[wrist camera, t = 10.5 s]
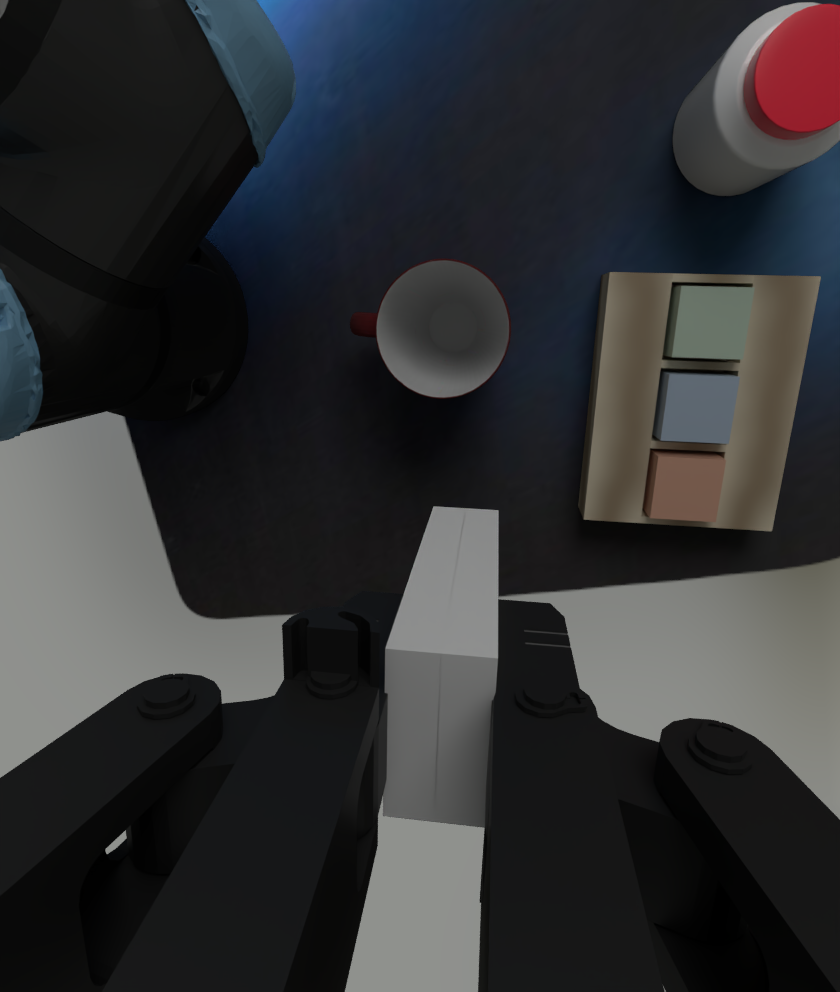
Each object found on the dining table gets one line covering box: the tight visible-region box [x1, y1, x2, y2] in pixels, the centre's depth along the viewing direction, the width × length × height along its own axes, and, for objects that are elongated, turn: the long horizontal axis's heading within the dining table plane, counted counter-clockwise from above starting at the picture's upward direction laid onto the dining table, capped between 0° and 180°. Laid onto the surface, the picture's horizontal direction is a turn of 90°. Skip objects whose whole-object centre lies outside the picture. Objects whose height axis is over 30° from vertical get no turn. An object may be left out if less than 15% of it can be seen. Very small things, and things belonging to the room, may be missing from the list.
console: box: [578, 272, 821, 531], centre depth 45 cm, size 13×17×3 cm
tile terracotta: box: [642, 448, 726, 522], centre depth 45 cm, size 4×4×3 cm
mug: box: [350, 259, 511, 399], centre depth 42 cm, size 11×8×10 cm
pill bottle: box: [673, 2, 840, 196], centre depth 36 cm, size 8×8×11 cm
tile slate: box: [652, 371, 740, 444], centre depth 43 cm, size 4×4×3 cm
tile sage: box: [663, 286, 755, 360], centre depth 42 cm, size 4×4×3 cm
